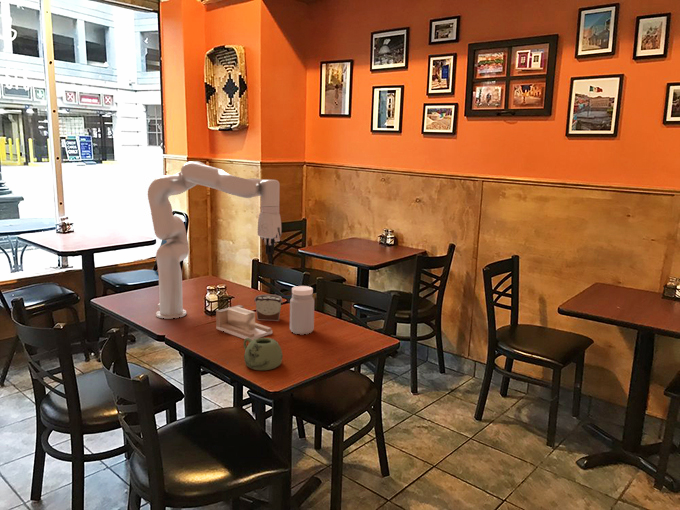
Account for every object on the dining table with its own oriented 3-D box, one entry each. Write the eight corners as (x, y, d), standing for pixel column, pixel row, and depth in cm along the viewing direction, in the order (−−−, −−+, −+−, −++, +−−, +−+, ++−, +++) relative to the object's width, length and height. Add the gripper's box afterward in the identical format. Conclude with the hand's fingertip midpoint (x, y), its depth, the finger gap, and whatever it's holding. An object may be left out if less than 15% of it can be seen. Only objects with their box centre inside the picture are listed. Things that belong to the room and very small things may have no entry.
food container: (285, 316, 236) (285, 294, 234) (282, 321, 230) (282, 298, 228) (257, 315, 237) (257, 293, 235) (254, 319, 231) (254, 296, 229)
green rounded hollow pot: (290, 364, 184) (290, 340, 182) (263, 376, 173) (263, 350, 172) (257, 352, 193) (257, 329, 191) (229, 363, 183) (229, 339, 181)
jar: (285, 333, 214) (285, 289, 211) (295, 326, 223) (296, 284, 220) (308, 336, 211) (308, 292, 208) (317, 329, 220) (318, 286, 217)
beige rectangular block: (245, 331, 211) (245, 314, 210) (227, 325, 218) (227, 308, 217) (255, 328, 215) (255, 312, 213) (237, 322, 222) (237, 306, 220)
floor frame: (216, 328, 217) (216, 310, 216) (239, 322, 226) (239, 304, 225) (249, 340, 205) (249, 321, 203) (272, 333, 214) (272, 315, 212)
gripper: (250, 209, 222) (250, 252, 225) (276, 212, 213) (275, 257, 216) (264, 207, 228) (264, 250, 231) (289, 211, 218) (288, 255, 222)
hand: (269, 254), depth 224 cm, fingers closed
